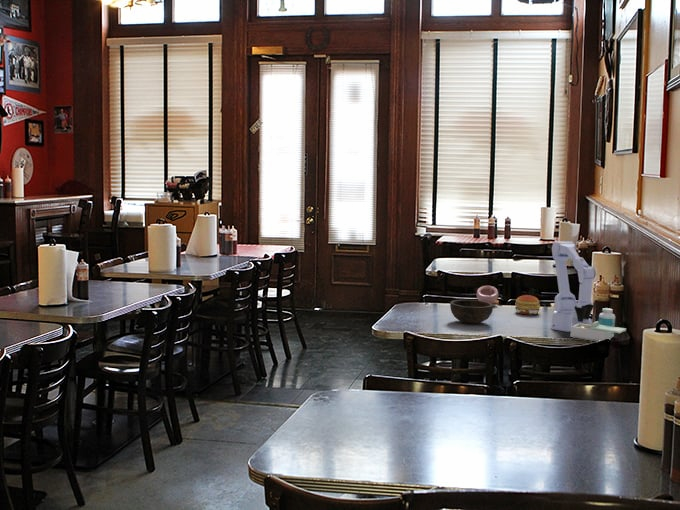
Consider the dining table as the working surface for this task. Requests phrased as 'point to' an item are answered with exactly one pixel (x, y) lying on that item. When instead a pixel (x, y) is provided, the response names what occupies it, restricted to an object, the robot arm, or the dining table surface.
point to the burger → (527, 304)
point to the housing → (588, 333)
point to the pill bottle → (607, 318)
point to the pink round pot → (487, 294)
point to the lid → (606, 328)
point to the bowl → (471, 310)
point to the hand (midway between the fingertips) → (583, 320)
